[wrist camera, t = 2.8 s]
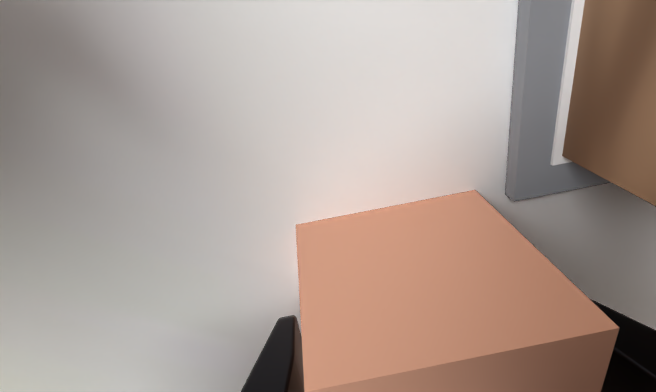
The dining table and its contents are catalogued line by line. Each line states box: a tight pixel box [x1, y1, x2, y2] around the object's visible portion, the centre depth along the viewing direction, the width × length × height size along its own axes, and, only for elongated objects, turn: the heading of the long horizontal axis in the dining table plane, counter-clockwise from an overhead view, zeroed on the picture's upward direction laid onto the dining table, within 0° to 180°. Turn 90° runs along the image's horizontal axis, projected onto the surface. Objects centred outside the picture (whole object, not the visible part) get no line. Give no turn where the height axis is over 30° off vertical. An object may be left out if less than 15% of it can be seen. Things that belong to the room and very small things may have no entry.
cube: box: [296, 190, 619, 392], centre depth 8 cm, size 4×4×4 cm
